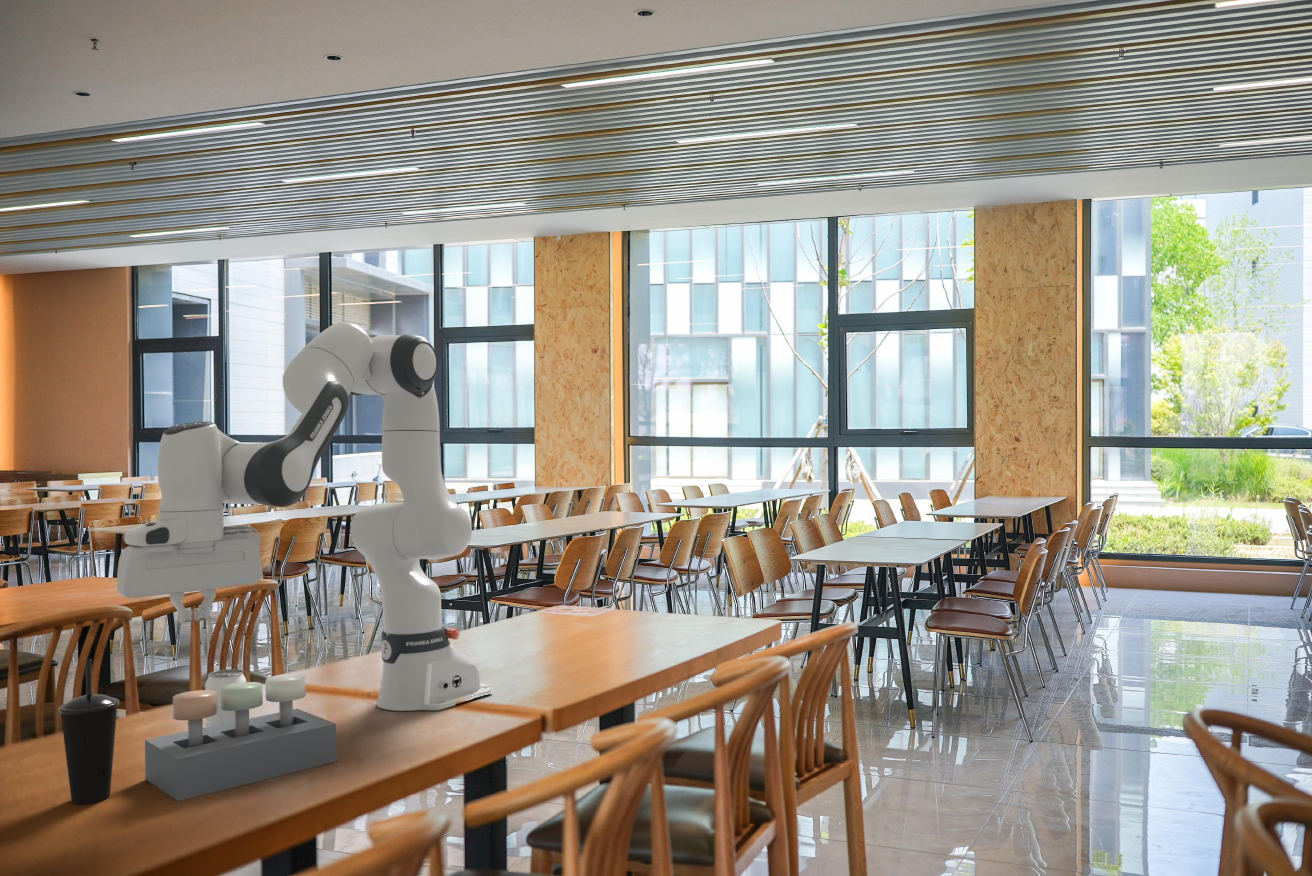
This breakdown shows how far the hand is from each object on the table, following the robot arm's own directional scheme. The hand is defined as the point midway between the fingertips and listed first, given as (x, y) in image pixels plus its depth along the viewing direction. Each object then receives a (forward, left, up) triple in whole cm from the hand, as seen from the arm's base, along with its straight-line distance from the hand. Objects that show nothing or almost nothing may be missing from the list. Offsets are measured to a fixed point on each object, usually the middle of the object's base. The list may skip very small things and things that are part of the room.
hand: (193, 621), depth 151 cm
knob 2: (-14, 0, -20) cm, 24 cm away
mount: (-7, 0, -24) cm, 25 cm away
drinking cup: (+13, -4, -24) cm, 28 cm away
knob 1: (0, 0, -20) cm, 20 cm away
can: (-11, -17, -24) cm, 32 cm away
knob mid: (-7, 0, -20) cm, 21 cm away
